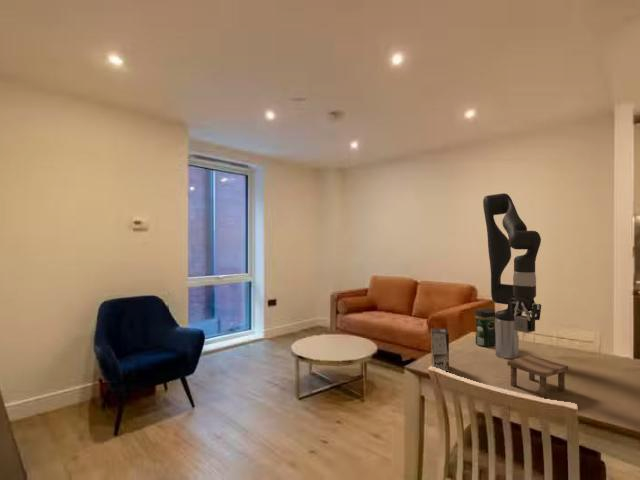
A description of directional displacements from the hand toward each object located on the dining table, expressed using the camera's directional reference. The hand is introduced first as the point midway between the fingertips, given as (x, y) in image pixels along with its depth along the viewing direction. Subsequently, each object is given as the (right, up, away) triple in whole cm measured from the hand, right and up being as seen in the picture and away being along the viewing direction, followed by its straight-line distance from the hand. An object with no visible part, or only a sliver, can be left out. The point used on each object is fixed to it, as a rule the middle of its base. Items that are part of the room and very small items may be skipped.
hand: (524, 328), depth 137 cm
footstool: (+3, -21, -2) cm, 22 cm away
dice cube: (0, -1, 0) cm, 1 cm away
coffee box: (-26, -22, +19) cm, 38 cm away
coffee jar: (+8, -21, +50) cm, 54 cm away
